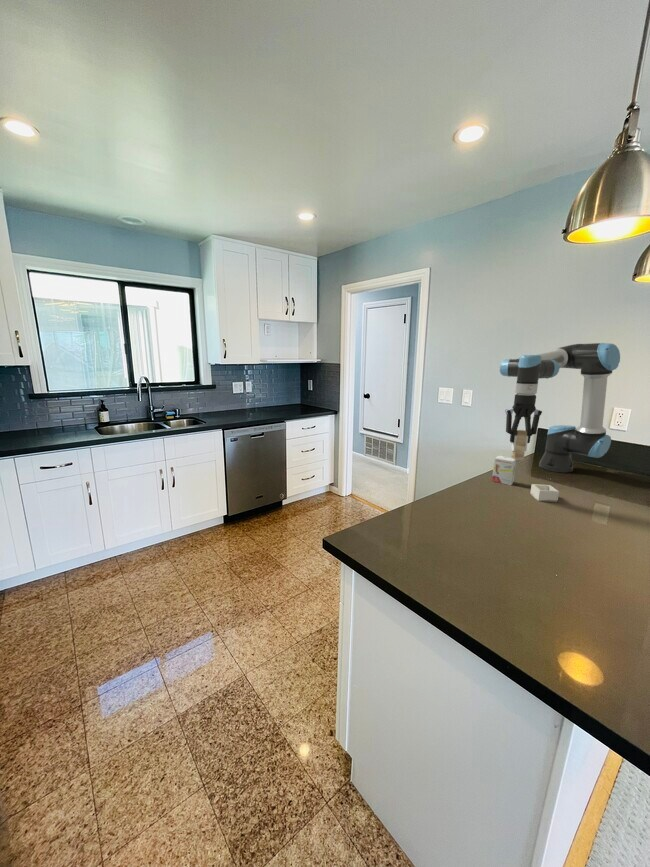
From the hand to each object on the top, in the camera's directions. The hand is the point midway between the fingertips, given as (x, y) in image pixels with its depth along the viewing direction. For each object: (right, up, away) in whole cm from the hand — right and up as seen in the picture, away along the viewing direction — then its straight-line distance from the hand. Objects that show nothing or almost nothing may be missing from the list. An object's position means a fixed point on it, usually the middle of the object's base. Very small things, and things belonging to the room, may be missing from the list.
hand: (518, 450), depth 146 cm
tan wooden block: (0, -4, +1) cm, 4 cm away
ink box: (+3, -16, +20) cm, 26 cm away
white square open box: (+11, -20, +1) cm, 23 cm away
